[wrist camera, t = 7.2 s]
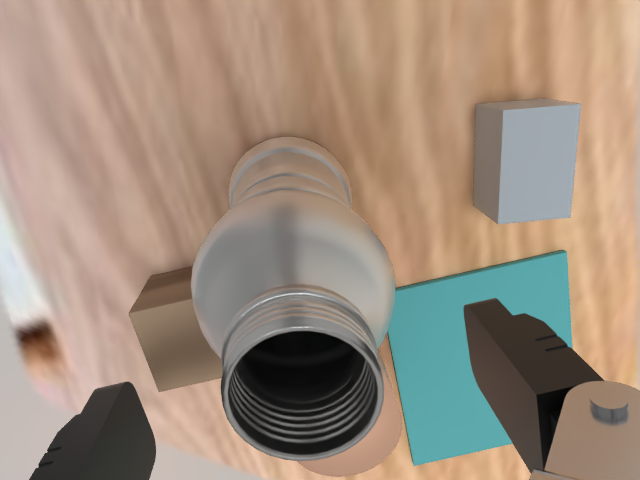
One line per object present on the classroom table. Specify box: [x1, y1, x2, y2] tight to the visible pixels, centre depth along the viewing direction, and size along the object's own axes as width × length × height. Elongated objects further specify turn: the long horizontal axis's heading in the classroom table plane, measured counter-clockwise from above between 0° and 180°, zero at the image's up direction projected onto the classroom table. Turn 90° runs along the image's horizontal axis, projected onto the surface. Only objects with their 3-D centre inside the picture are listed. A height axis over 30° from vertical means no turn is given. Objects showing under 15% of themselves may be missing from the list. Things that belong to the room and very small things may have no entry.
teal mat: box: [387, 250, 572, 466], centre depth 35 cm, size 14×12×1 cm
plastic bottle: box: [191, 137, 395, 461], centre depth 21 cm, size 6×7×20 cm
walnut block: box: [129, 266, 223, 392], centre depth 30 cm, size 5×5×5 cm
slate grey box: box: [473, 98, 581, 224], centre depth 29 cm, size 6×4×4 cm, turn 4°
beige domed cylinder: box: [297, 348, 402, 477], centre depth 31 cm, size 6×6×7 cm
